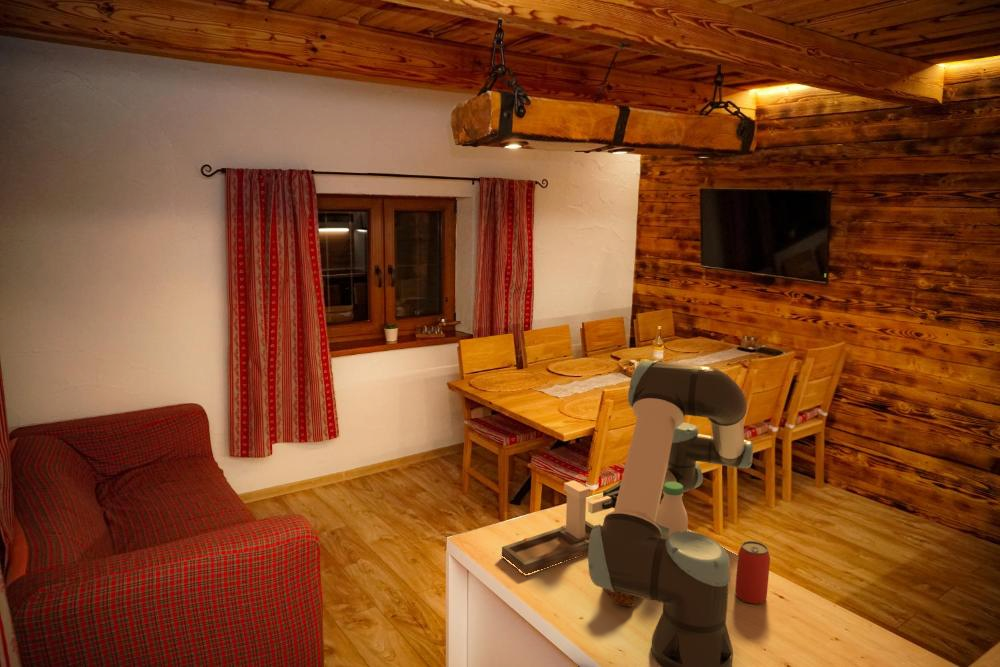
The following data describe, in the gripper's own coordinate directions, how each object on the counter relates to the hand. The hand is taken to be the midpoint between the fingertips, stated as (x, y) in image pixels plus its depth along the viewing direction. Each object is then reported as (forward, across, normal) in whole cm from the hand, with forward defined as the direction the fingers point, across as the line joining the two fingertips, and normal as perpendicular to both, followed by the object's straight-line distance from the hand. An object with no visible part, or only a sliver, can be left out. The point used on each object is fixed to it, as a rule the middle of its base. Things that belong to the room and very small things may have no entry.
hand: (590, 507), depth 175 cm
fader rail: (+11, 0, -9) cm, 14 cm away
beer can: (-13, -39, -9) cm, 42 cm away
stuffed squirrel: (+10, -23, -9) cm, 27 cm away
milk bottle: (-9, -19, -9) cm, 23 cm away
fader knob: (+5, 0, -7) cm, 9 cm away
